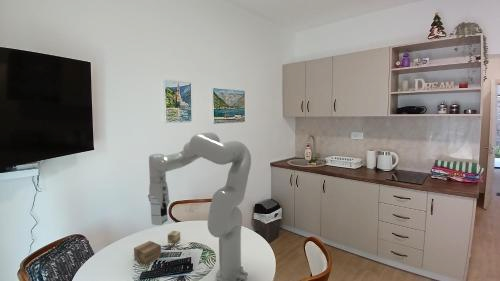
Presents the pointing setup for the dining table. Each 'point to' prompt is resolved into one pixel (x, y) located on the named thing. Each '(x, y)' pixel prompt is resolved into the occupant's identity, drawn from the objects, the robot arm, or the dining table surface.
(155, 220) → the syrup box
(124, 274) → the dining table surface
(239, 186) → the robot arm
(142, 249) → the brown cardboard box
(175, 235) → the oak cube
